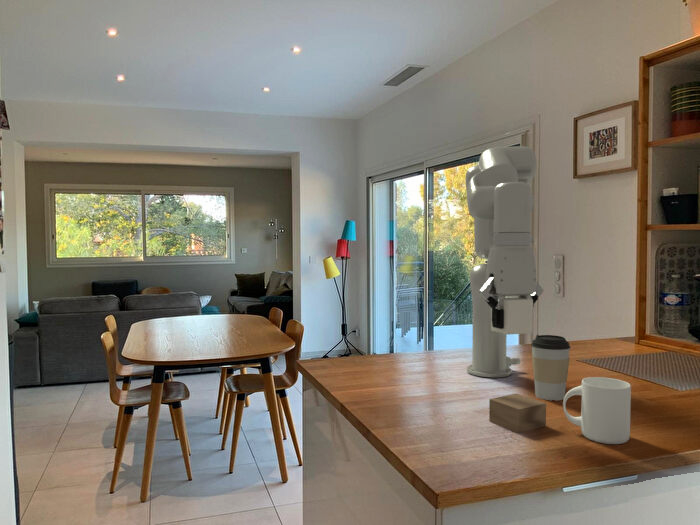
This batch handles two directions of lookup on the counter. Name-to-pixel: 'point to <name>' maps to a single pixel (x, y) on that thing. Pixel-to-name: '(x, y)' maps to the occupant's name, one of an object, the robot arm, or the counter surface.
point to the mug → (603, 409)
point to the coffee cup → (550, 366)
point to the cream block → (516, 316)
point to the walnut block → (517, 412)
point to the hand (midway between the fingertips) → (511, 326)
